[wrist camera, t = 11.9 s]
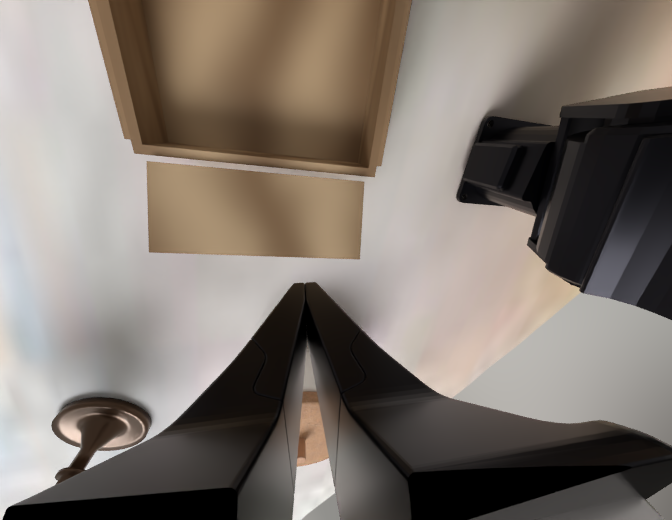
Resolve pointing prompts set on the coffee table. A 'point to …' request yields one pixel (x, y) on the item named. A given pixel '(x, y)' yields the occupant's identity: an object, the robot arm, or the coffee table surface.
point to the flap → (252, 213)
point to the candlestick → (98, 429)
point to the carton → (255, 79)
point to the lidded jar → (311, 422)
